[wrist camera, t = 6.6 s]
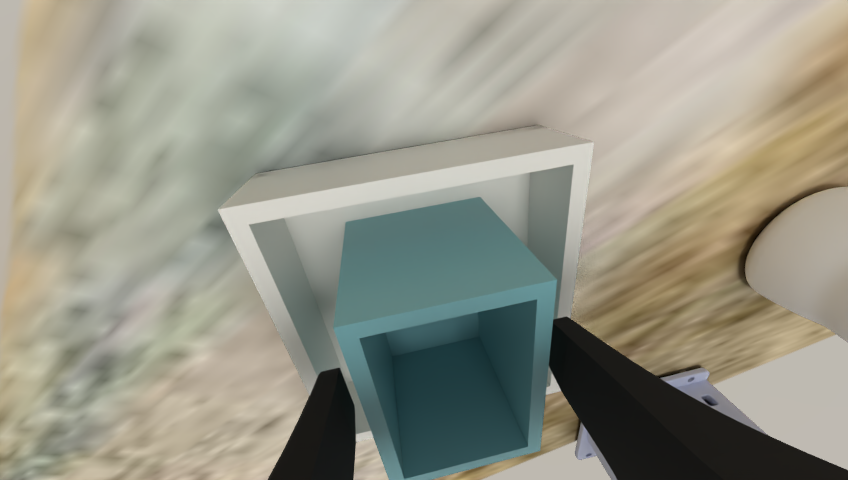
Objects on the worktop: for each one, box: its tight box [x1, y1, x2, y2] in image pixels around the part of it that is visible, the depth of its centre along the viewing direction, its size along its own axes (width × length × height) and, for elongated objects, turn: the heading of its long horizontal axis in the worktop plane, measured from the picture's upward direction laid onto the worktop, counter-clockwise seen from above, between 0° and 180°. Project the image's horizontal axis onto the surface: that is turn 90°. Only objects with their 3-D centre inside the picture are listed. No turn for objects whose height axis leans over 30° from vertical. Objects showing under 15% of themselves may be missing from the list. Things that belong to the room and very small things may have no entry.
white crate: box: [218, 125, 594, 442], centre depth 14 cm, size 11×12×4 cm
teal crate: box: [333, 197, 557, 480], centre depth 12 cm, size 6×8×6 cm
